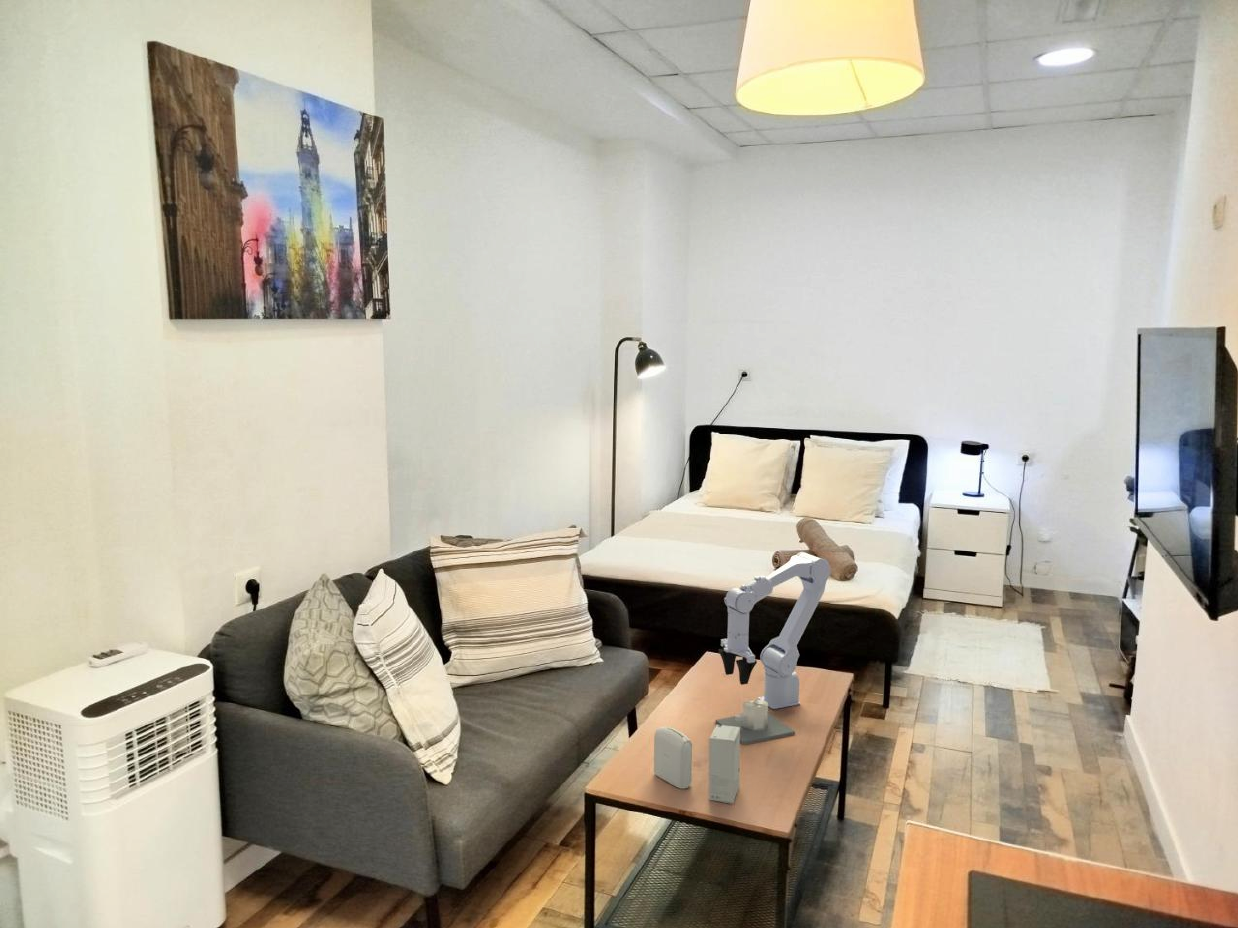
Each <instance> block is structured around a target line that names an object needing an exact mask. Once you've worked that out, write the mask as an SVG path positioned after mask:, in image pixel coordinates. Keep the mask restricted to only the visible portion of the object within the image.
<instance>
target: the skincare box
mask: <svg viewBox="0 0 1238 928" xmlns="http://www.w3.org/2000/svg"><path fill="white" fill-rule="evenodd" d="M740 747H741V746H740V727H734V726H725V725H718V724H716V725H715V727H714V729H712V733H711V735H710V736H709V739H708V800H709V801H716V802H721V803H725V804H730V805H733V804H734V803H735V797H736V796H737V793H738V791H739V789H740V762H741V761H740V758H741V757H740V754H741V753H740V752H741V748H740Z"/></svg>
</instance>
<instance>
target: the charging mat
mask: <svg viewBox="0 0 1238 928" xmlns="http://www.w3.org/2000/svg"><path fill="white" fill-rule="evenodd" d="M742 722H743V720H742V721H737V720H736V719H734V715H733V716H730V717H729V716H728V717H724V718H718V719H715V724H716V725H725V726H734V727H740V743H741V744H742V745H748V744H752V743H753V744H754V743H758V742H764V741H768V740H773V739H778V738H783V737H788V736H791V735H796V731H795V730H794V729H792V728H791V727H790V726H789V725H788V724H785V723H784V722H783V721H781V720H780V719H778V718H777V717H775V715H772V713H770V712H769V711H768V716H767V726H766V727H763V728H757V729H746V728H744V727H743V726H742Z"/></svg>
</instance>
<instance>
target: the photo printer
mask: <svg viewBox="0 0 1238 928" xmlns="http://www.w3.org/2000/svg"><path fill="white" fill-rule="evenodd" d="M653 737H654V738H653V739H654V741H653V750H654V752H653V755H654V756H653V760H654V761H653V766H654V767H653V772H654V775H656V776H657V777H658V778H660V779H662V780H663V781H665V782H667V783H668V784H671V785H672V786H673V787H676V788H678V789H683V790H684V789H687V788H689V787H690V786H691V784H692V779H693V778H692V777H693V776H692V774H693V773H692V769H693V766H692V765H693V763H692V762H693V744H692V741H691V740H690V739H689V737H688V736H686V735H685V734H684V733H682V732H681V731H680V730H678V729H676V728H673V727H670V726H666V725H665V726H664V725H663V726H660V727H657V729H656V730H655V732H654V736H653Z"/></svg>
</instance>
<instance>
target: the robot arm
mask: <svg viewBox="0 0 1238 928" xmlns="http://www.w3.org/2000/svg"><path fill="white" fill-rule="evenodd" d="M831 573H832V571H831V567H830V563H829V562H828V560H827V559H825V558H820V557H818V556H815V555H812V554H809V553H807V552H805V551H800V552H798V553H796V555H792V556H791V557H790V560H789V561H788V562H786V563H785V564H783V565H782V566H780V567H778V568H777V569H776V570H774V571H773V572H772V573H770V574H769V575H767V576H765V575H756V576H754V579H752V580H750V581H749V582H746V583H745V584H743V583H742V584H741V586H740V587H733V588H731V589H729V590H728V591H727V593H726V595H725V597H724V598H723V600H724V601H723V602H724V604H725V606H727V638H722V639H720V646H721V647H722V648H719V649H718V653H719V656H720V658H721V661H722V663H723V668H724V673H725V675H726V676H729V675H733V674H734V671H735V664H736V665H737V669H738V676H739V677H738V678H739V684H740V685H741V686H743V685H748V684H749V681H750V677H751V674H752V672H753V670H754V668H755V666H756V665H757V663H758V660H756V655H755V654H754V653H753V652H752V650H751V649H750V647H749V627H750V612H751V611H752V610H753V608H754V605H756V604H757V603H758V602H760V601H761V600H763V599H764V598H766V597H767V596H769V595H771V594H772V593H773V590H774V589H773V588H775V587H777V586H779V585H780V584H783V583H785V582H788V581H789V580H791V579H793V578H795V577H798V579H799V580H800V581H801V584H802V587H803V589H802V591H801V593H800V595H799V597H798V598H797V600H796V602H795V604H794V606H793V608H792V611H791V613H790V614H789V616H788V618H787V619H786V622H785V623H784V626H783V628H782V630H781V632H780V633H779V636H776V637H774V638H772V639H770V641H769V643H768V644H767V645H765V647H764V648H763V649H762V651H761V653H760V654H759V655H760V656H759V658H760V662H761V664H762V665H763V669H764V685H763V686H764V689H763V693H764V694H763V696H758V697H757V700H764V701H766V702H768V708H770V709H772V710H776V709H782V708H788V707H790V706H791V707H792V706H797V705H801V702H800V700H799V699H800V698H799V697H800V678H799V675H798V673H797V672H796V668H797V665H798V664H797V662H798V659H799V657H800V653H799V652H800V651H799V650H798V646H797V645H798V644H799V641H800V640H801V639H802V638H801V637H802V636H803V635H804V632H805V630H806V628H807V626H808V624H809V622H810V620H811V619H812V617H813V615H814V612H815V610H817V609H816V608H817V607H818V605H819V602H820V601H821V599H822V597H823V595H824V593H825V590H826V585H827V581H828V579H829V577H830V576H831ZM737 656H739V657H741V659H737Z"/></svg>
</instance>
